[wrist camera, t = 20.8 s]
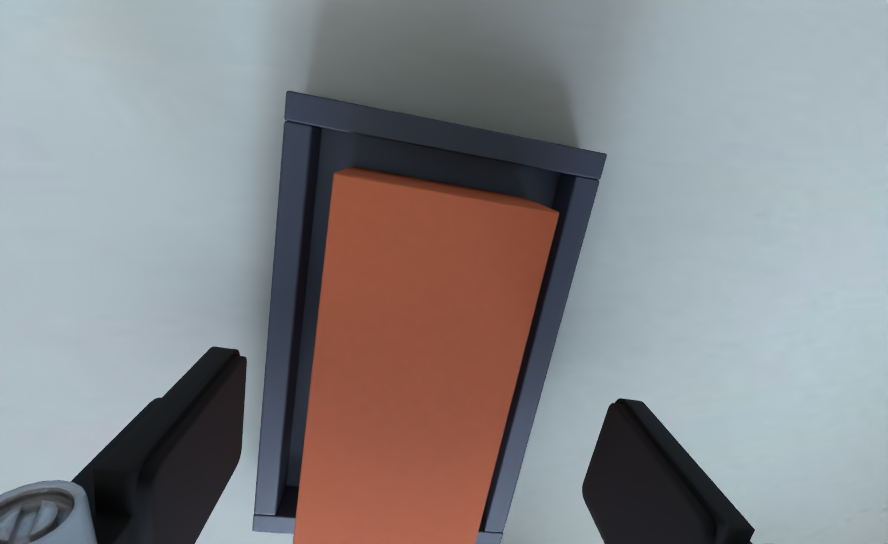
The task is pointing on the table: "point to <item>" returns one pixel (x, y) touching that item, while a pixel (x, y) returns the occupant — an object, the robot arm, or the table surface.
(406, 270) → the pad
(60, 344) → the table surface
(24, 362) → the table surface
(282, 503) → the pad frame
